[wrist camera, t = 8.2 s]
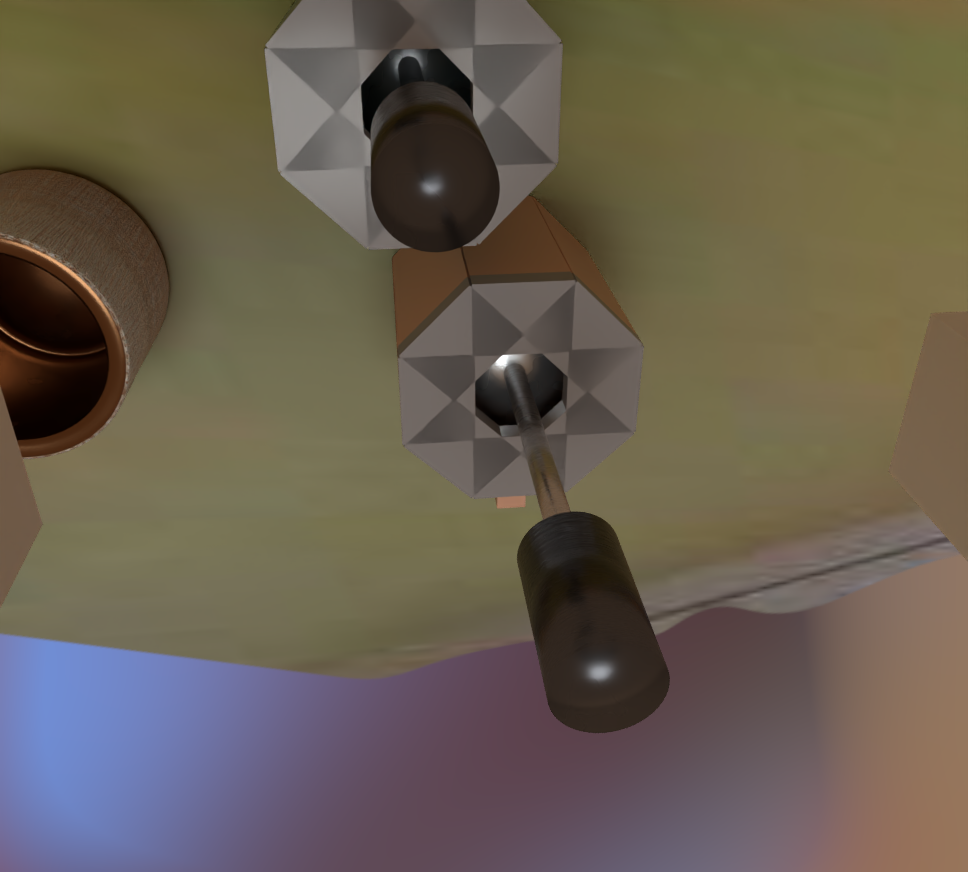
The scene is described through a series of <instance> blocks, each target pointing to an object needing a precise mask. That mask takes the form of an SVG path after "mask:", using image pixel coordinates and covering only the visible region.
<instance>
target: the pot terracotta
mask: <svg viewBox="0 0 968 872" xmlns="http://www.w3.org/2000/svg"><path fill="white" fill-rule="evenodd" d="M392 268H393V286H394V304H395V323H396V340H397V357H398V374H399V391H400V408H401V425H402V442H403V445H404V447H405V448H406V449H408V450H409V451H410V452H412V453H413V454H414V455H415V456H417V457H418V458H419V459H421V460H422V461H423V462H425V463H426V464H427V465H429V466H430V467H431V468H433V469H434V470H435V471H437V472H438V473H439V474H440V475H442V476H443V477H444V478H446V479H447V480H448V481H450V482H451V483H452V484H454V485H455V486H456V487H458V488H459V489H460V490H461V491H463V492H464V493H465V494H467V495H468V496H469V497H471V498H472V497H473V498H474V499H479V498H495V500H496V505H497V508H512V507H525V496H527V495H536V492H535V488H534V485H533V481H532V477H531V474H530V470H529V466H528V463H527V459H526V455H525V452H524V448H523V444H522V441H521V437H520V434H519V430H518V426H517V425H507V426H499V425H497V424H496V423H495V422H494V421H493V420H491V419H490V418H489V417H488V416H486V415H485V414H484V413H483V412H482V411H480V410H479V409H478V408H477V407H475V381H476V380H477V379H478V378H479V377H480V376H481V375H482V374H483V373H485V372H486V371H487V370H488V369H489V368H490V367H491V366H492V365H493V364H494V363H495V362H496V361H497V360H498V359H499V358H500V357H501V356H502V355H519V354H540V353H542V354H543V355H544V356H545V357H546V358H547V359H549V360H550V361H551V362H552V363H553V364H554V365H555V366H556V367H558V368H559V369H560V370H561V371H562V372H563V393H562V400H561V401H560V402H559V403H558V404H557V405H556V406H555V407H554V408H553V409H551V410H550V411H549V412H548V413H547V414H546V415H545V416H544V417H543V418H542V419H541V421H542V424H543V427H544V430H545V433H546V437H547V440H548V443H549V446H550V449H551V452H552V455H553V458H554V461H555V465H556V468H557V471H558V474H559V477H560V480H561V483H562V486H563V489H564V491H565V492H567V491H568V490H570V489H571V488H572V487H573V486H574V485H575V484H577V483H578V482H579V481H580V480H581V479H582V478H584V477H585V476H586V475H587V474H588V473H589V472H590V471H592V470H593V469H594V468H595V467H596V466H597V465H599V464H600V463H601V462H602V461H603V460H604V459H606V458H607V457H608V456H609V455H610V454H611V453H612V452H614V451H615V450H616V449H617V448H618V447H619V446H621V445H622V444H623V443H624V442H625V441H626V440H628V439H629V438H630V437H631V436H632V435H633V434H634V432H635V431H636V421H637V411H638V400H639V390H640V379H641V369H642V359H643V348H644V346H643V344H642V342H641V340H640V339H639V337H638V335H637V334H636V332H635V330H634V329H633V327H632V325H631V324H630V322H629V320H628V319H627V317H626V315H625V314H624V312H623V310H622V309H621V307H620V305H619V304H618V302H617V300H616V299H615V297H614V295H613V294H612V292H611V290H610V289H609V287H608V285H607V284H606V282H605V280H604V279H603V277H602V275H601V274H600V272H599V270H598V268H597V267H596V265H595V263H594V262H593V260H592V258H591V257H590V255H589V253H588V252H587V250H586V249H585V248H584V247H583V246H582V245H581V244H580V243H579V242H578V241H577V240H576V239H575V238H574V237H573V236H572V235H571V234H570V233H569V232H568V231H567V230H566V229H565V228H564V227H563V226H562V225H561V224H560V223H559V222H558V221H557V220H556V219H555V218H554V217H553V216H552V215H551V214H550V213H549V212H548V211H547V210H546V209H545V208H544V207H543V206H542V205H541V204H540V203H539V202H538V201H537V200H536V199H535V198H534V197H533V196H532V197H531V196H527V197H526V198H525V199H524V200H523V201H522V202H521V203H520V204H519V205H518V206H517V207H516V208H515V209H514V210H513V211H512V212H511V213H510V214H509V215H508V216H507V217H506V218H505V219H504V220H503V221H502V222H501V223H500V224H499V225H498V226H497V227H496V228H495V229H494V230H493V231H492V232H491V233H490V234H489V235H488V236H487V237H486V238H485V239H484V240H483V241H482V242H481V243H480V244H478V243H477V246H462V247H460V248H457V249H454V250H450V251H446V252H425V251H420V250H416V249H413V248H401V249H400V250H399V251H398V252H397V253H396V254H395V255H394V256H393V259H392Z"/></svg>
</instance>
